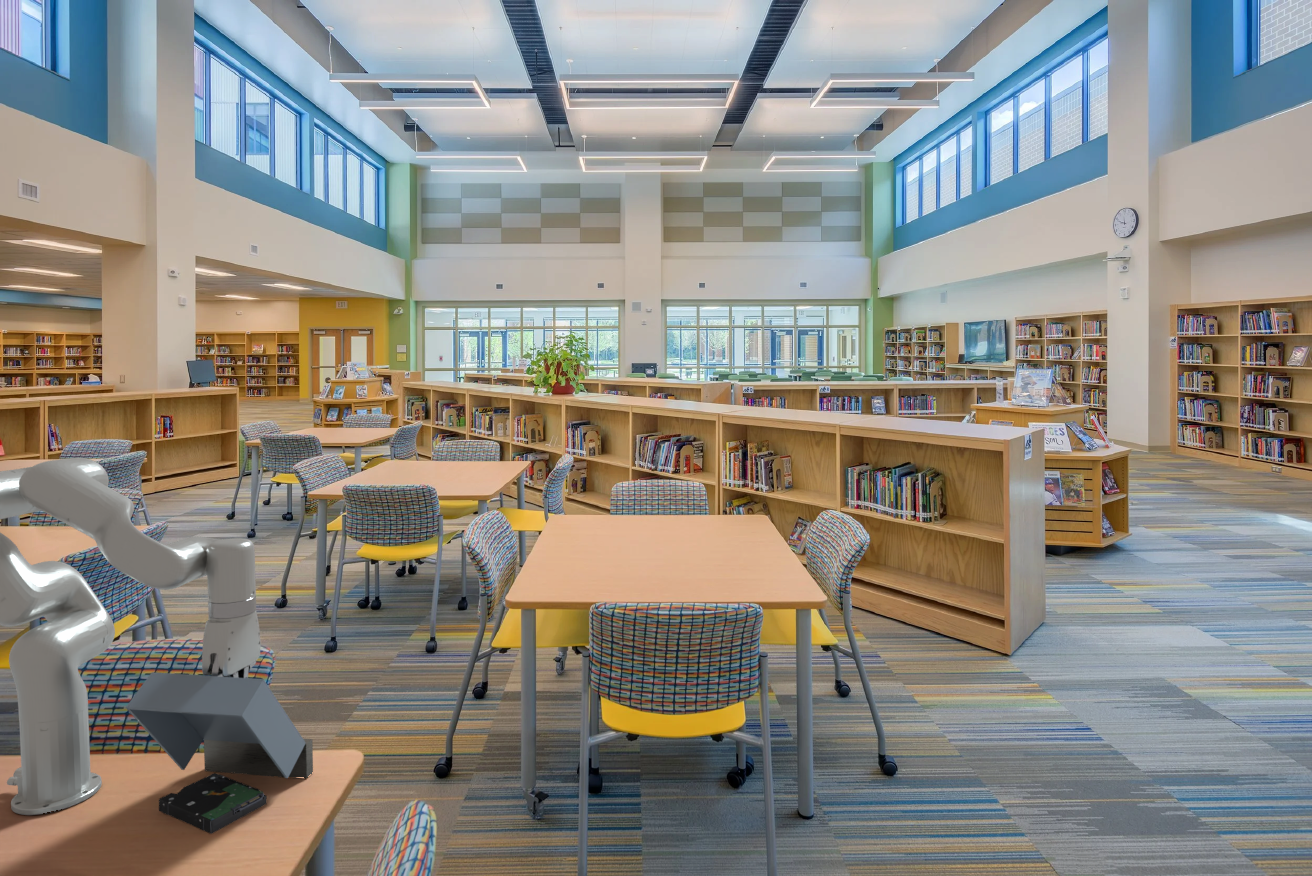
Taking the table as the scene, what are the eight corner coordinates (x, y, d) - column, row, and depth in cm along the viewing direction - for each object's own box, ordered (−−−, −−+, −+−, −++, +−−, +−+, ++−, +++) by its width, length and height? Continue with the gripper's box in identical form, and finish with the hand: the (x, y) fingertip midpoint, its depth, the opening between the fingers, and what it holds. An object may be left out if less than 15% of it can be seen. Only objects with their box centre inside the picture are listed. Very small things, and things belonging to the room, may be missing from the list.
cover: (125, 707, 122) (151, 672, 127) (181, 769, 135) (203, 735, 140) (241, 715, 120) (263, 679, 125) (287, 778, 132) (305, 742, 138)
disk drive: (157, 815, 127) (211, 837, 121) (156, 799, 127) (211, 820, 121) (215, 786, 136) (268, 805, 130) (214, 771, 136) (268, 790, 130)
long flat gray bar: (204, 771, 141) (203, 736, 140) (212, 765, 143) (211, 731, 142) (306, 779, 138) (306, 744, 138) (313, 773, 140) (312, 739, 140)
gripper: (240, 595, 140) (243, 689, 141) (182, 619, 125) (185, 723, 126) (277, 597, 139) (279, 691, 140) (223, 621, 124) (226, 726, 126)
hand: (235, 706), depth 133 cm, fingers closed
